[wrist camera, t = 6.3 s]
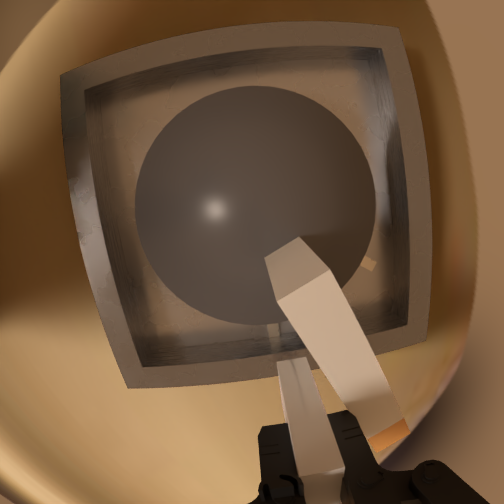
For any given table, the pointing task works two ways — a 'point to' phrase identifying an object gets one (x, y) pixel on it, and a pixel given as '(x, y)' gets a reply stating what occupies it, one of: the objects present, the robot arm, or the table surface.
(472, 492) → the robot arm
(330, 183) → the grey dome with handle
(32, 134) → the table surface
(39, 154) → the table surface
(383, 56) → the grey rectangular tray
